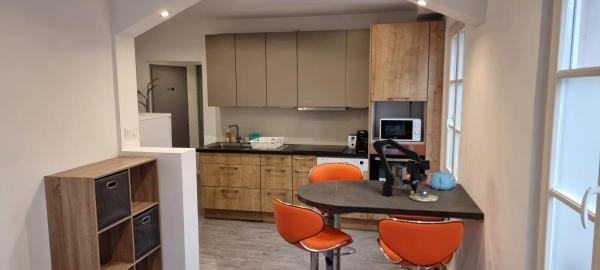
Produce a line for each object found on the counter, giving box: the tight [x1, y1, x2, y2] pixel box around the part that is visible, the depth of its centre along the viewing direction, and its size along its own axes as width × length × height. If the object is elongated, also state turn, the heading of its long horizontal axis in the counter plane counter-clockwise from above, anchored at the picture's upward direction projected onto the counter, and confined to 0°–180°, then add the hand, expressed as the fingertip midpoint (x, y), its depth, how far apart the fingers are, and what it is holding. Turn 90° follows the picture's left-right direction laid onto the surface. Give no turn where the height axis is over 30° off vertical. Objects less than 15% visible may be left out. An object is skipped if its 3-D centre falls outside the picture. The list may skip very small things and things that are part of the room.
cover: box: [418, 189, 430, 198], centre depth 265 cm, size 6×6×4 cm
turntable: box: [409, 190, 439, 203], centre depth 266 cm, size 18×18×4 cm
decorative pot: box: [427, 170, 457, 191], centre depth 295 cm, size 16×16×14 cm
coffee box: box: [391, 165, 408, 190], centre depth 297 cm, size 9×6×16 cm
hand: (414, 192), depth 269 cm, fingers closed
